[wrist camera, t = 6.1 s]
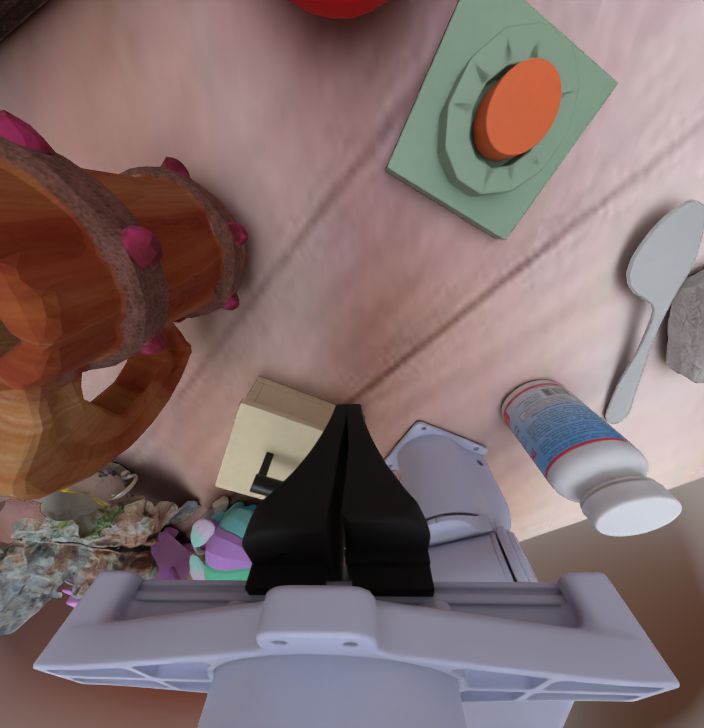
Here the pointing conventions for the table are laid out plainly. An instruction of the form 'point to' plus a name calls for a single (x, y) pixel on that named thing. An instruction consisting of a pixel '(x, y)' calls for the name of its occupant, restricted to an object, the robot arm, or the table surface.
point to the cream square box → (291, 401)
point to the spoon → (657, 287)
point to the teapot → (163, 559)
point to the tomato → (339, 7)
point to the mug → (96, 302)
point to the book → (16, 13)
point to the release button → (518, 110)
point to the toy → (221, 542)
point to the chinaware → (86, 494)
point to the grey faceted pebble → (687, 329)
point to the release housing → (462, 99)
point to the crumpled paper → (79, 553)
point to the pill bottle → (588, 460)
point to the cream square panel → (264, 449)
